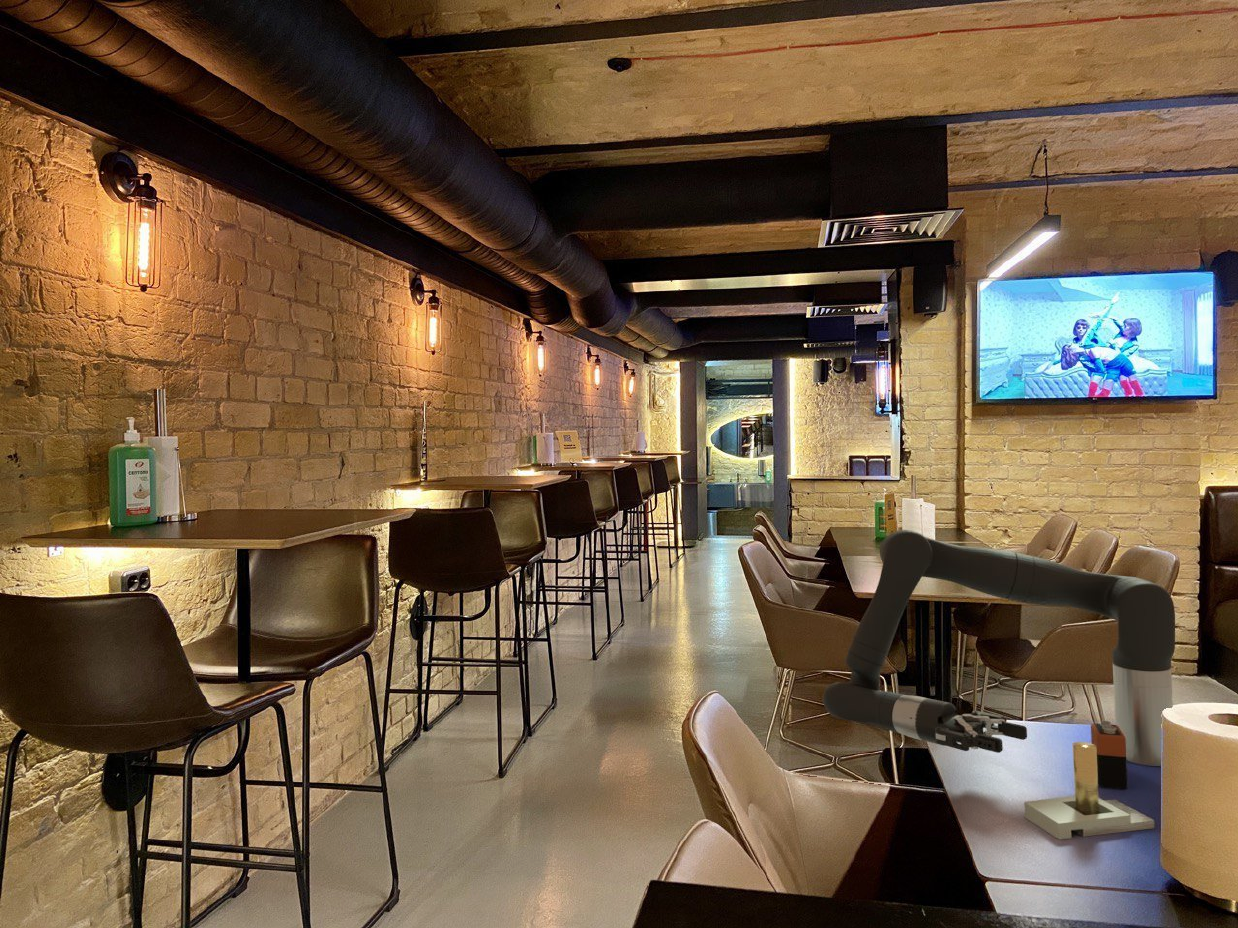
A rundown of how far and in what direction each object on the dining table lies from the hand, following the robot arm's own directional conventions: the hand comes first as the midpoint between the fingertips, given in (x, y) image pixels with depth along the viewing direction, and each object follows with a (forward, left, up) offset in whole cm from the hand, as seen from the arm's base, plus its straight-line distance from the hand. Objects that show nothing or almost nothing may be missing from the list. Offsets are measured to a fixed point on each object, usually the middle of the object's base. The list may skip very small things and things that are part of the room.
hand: (1014, 739), depth 136 cm
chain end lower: (-7, +10, -10) cm, 16 cm away
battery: (-20, -3, -10) cm, 23 cm away
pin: (-5, +10, -10) cm, 15 cm away
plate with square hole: (-3, +10, -10) cm, 15 cm away
